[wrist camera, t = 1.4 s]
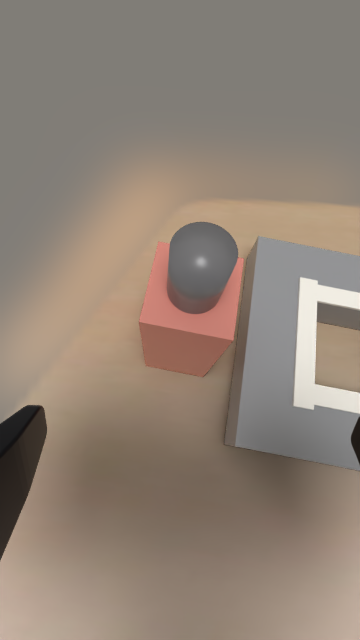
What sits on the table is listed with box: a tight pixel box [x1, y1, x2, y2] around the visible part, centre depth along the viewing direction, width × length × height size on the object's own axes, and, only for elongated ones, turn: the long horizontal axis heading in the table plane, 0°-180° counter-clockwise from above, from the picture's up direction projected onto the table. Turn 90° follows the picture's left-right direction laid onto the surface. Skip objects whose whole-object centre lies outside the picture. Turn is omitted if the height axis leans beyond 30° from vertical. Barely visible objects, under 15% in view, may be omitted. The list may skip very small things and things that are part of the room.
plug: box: [139, 222, 244, 377], centre depth 16 cm, size 4×4×12 cm
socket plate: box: [224, 236, 360, 471], centre depth 21 cm, size 14×14×3 cm
